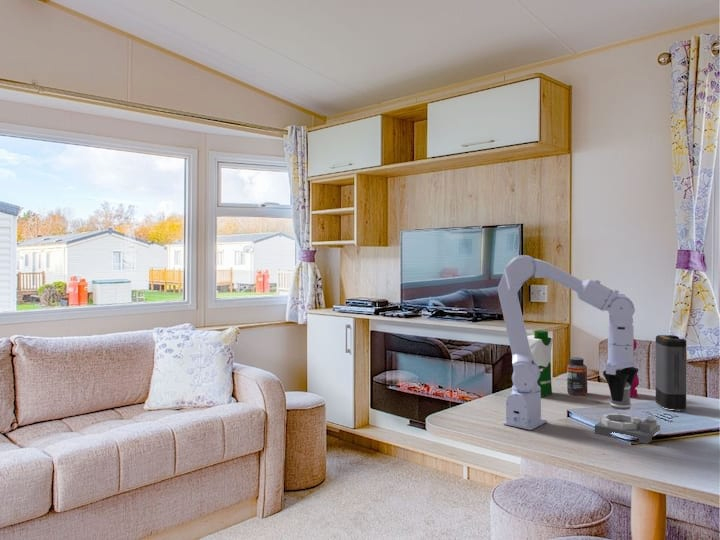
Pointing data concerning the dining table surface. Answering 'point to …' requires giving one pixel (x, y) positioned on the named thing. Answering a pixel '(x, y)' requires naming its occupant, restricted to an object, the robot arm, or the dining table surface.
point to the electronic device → (671, 372)
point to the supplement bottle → (577, 377)
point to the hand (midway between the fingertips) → (620, 398)
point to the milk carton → (542, 358)
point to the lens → (625, 402)
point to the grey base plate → (627, 426)
